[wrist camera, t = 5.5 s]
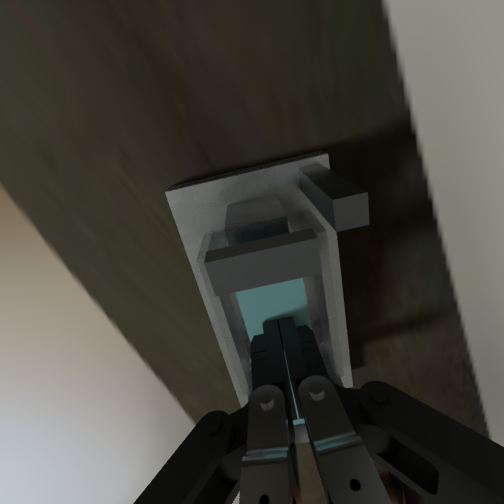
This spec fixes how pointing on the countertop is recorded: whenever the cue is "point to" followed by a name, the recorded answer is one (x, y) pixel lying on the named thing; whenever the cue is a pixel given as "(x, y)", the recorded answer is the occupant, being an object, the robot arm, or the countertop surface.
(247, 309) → the teal tile grey cap
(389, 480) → the sunglasses case
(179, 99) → the countertop surface
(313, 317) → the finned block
